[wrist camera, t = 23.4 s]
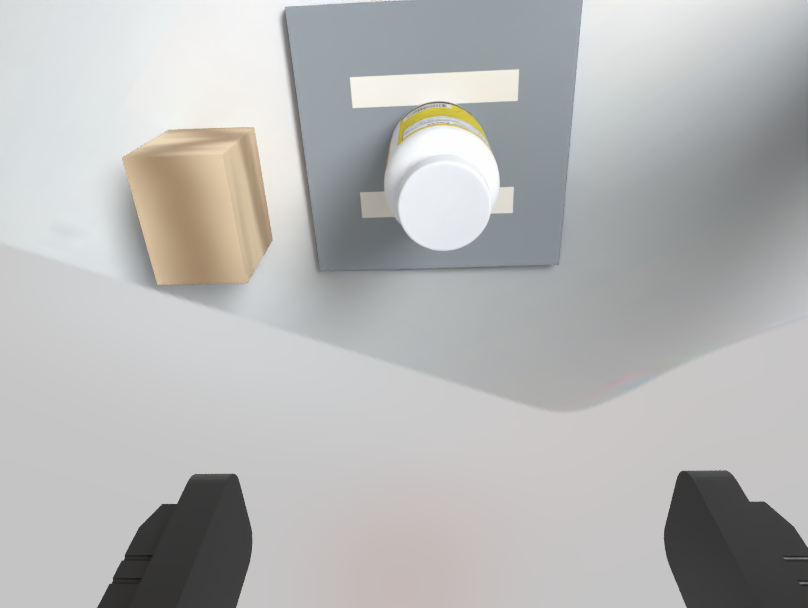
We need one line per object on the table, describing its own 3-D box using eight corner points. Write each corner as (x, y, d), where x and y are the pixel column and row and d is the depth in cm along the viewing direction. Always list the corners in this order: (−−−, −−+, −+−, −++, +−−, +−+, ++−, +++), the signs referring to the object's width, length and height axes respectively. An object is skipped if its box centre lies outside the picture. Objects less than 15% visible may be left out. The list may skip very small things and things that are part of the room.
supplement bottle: (450, 211, 35) (457, 288, 26) (372, 162, 33) (354, 225, 25) (506, 134, 32) (534, 191, 24) (425, 78, 31) (424, 116, 23)
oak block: (254, 126, 33) (222, 154, 28) (272, 239, 37) (247, 283, 32) (169, 129, 34) (121, 157, 28) (195, 241, 37) (157, 284, 32)
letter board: (580, -10, 29) (583, -9, 29) (556, 260, 37) (558, 264, 36) (287, 6, 30) (284, 7, 30) (321, 267, 38) (319, 271, 37)
